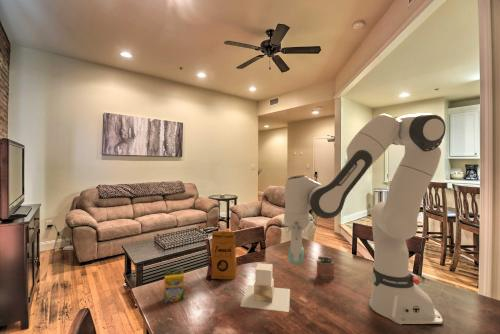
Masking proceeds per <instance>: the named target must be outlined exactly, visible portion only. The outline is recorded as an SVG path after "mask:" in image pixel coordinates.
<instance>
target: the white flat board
mask: <svg viewBox="0 0 500 334" xmlns="http://www.w3.org/2000/svg"><path fill="white" fill-rule="evenodd" d="M290 297H291V289H290V288H284V287H283V288H282V287H274V295H273V301H272V303H269V302H260V301H254V284H253V285H252V284H248V285H247V287H246V291H245V292H244V295H243V297H242V300H241V302H240V304H239V305H240V306H239V307H243V308H251V309H258V310H269V311H277V312H286V313H289V312H290V301H291V299H290Z"/></svg>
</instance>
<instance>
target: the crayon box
mask: <svg viewBox="0 0 500 334" xmlns="http://www.w3.org/2000/svg"><path fill="white" fill-rule="evenodd" d="M184 269H185V268H173V269H165V270H164V279H163V280H164V289H163V292H164V297H163V299H164V300H163V302H164V303H170V302H177V301H184V300H185V299H184V297H185V292H184V291H185V288H184V287H185V286H184V285H185V283H184V281H185V278H184V277H185V275H184V274H185V273H184ZM174 271H175V272H174Z"/></svg>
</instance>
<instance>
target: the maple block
mask: <svg viewBox="0 0 500 334" xmlns="http://www.w3.org/2000/svg"><path fill="white" fill-rule="evenodd" d="M253 285H254V301H260V302H269V303H272V301H273V295H274V288H275V279H274V278H273V279H272V284H271V286H262V285H256V280H255V281H254V284H253Z"/></svg>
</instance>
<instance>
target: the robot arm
mask: <svg viewBox="0 0 500 334" xmlns="http://www.w3.org/2000/svg"><path fill="white" fill-rule="evenodd" d="M445 134H446V123H445V120H444V119H443V118H442V116H441V115H437V114H434V113H427V112H426V113H425V112H424V113H414V114H413V113H412V114H410V113H409V114H407V115H401V116H395V117H394V116H392V115H390V114H386V113H381V114H377V115H376V116H374V117H373V118H372V119H370V120H369V121H368V122H367V123H366V124H365V125H364V126H363V127H362V128H361V129H360V130H359V131H358V132H357V133H356V134H355V135H354V136H353V138H352V140H351V141H350V142H349V144H348V145H347V147H346V155H347V159H346V162H345V164H344V165H343V166H342V168H341V169H340V170H339V172H338V173H337V174H336V175H335V177H334V178H333V179H332V180H331V182H329V183H328V184H326V185H325V184H322V183H320V182H318V181H315V180H314V179H312V178H310V177H309V176H307V175H305V174H299V175H294V176H290V177H288V178H287V180H286V181H285V184H284V186H285V187H284V202H285V203H284V205H285V207H284V212H283V215H284V217H283V219H284V220H283V223H284V225H286V226H287V229H288V230H290V246H291V253H293V260H294V261H299V254H301V253H302V247H303V231H305V229H306V227H308V226H309V224H310V223H309V221H310V219H309V218H310V210H311V211H312V212H313V213H314V215H316V216H317V217H319V218H322V219H324V220H325V219H326V220H327V219H328V220H329V219H333V218H336V217H337V216H338V215H340V213H342V210H343V209H344V205H345V202H346V199H347V196H349V193H350V192H351V191H352V190H353V189H354V188H355V186H356V185H357V184H358V182H359V181H360V180H361V179H362V177H363V176H364V175H365V174H366V173H367V171H368V170H369V169H370V167H372V166H373V164H374V163H375V162H376V161H377V160H379V159H380V158H381V156H382V155H383V154H384V153H385V152H386V151H387V150H388V148H389V147H390V146H391V145H394V146H395V145H396V146H404V155H403V157H402V158H401V161H400V163H399V164H398V166H397V168H396V170H395V172H394V174H393V176H392V178H391V181H390V183H389V186H388V187H389V188H388V192H387V196H386V200H385V201H380V202H377V203H375V204H374V205H373V206H372V208H371V210H370V217H371V230H372V239H373V249H374V252H373V253H374V257H373V261H374V262H373V263H374V266H372V273H371V274H372V275H371V276H372V292H371V296H370V298H369V301H368V305H369V306H370V308H371V309H372V311H374V312H376V313H377V314H379V315H381V316H383V317H385V318H387V319H389V320H392V321H393V322H394V323H396V324H398V325H402V324H420V323H442V322H444V319H443V317H442V315H441V313H440V312H439V311H438V310H437V309H436V308H435V307H434V303H433V301H432V299H431V297H430V296H429V295H428V294H427V293H426V292H425V291H424V290H423V289H421V288H420V287H419V285H420V284H421V280H420V279H419V278H418V277H417V276H414V274H413V273H411V272H409V271H410V269H409V266H410V265H409V262H410V261H409V260H410V258H409V257H410V252H409V249H408V245H407V241H406V240H410V239H411V238H413V237H414V236H415V235H416V234H417V232H418V228H419V226H418V218H419V214H420V209H421V205H422V201H423V198H424V196H425V193H426V191H427V190H428V188H429V186H430V184H431V181H432V180H433V178H434V176H435V174H436V171H437V169H438V166H439V163H440V159H441V157H442V150H441V148H440V147H439V146H441V144H442V143H443V140H444V138H445ZM438 317H440V318H438Z"/></svg>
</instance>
